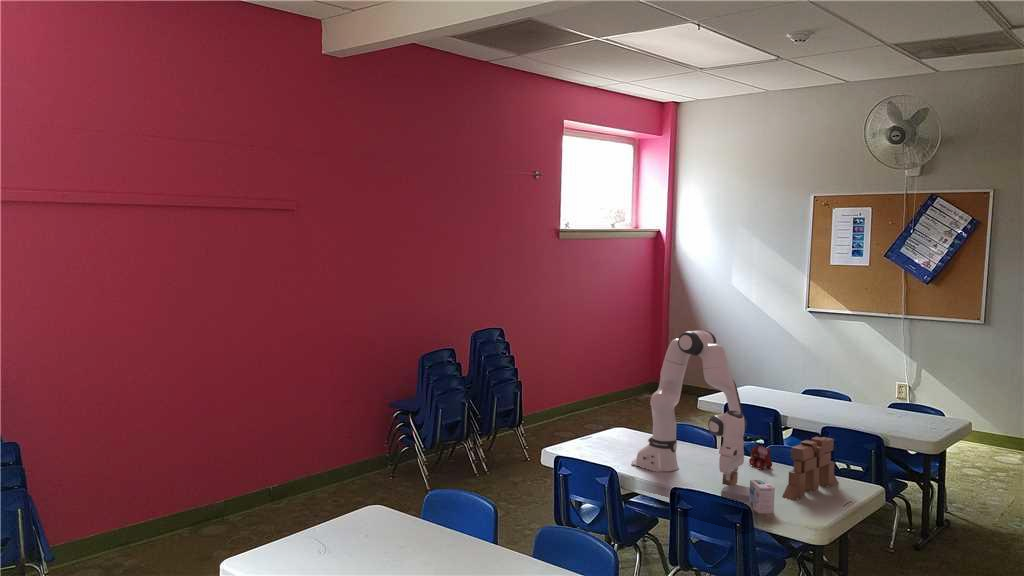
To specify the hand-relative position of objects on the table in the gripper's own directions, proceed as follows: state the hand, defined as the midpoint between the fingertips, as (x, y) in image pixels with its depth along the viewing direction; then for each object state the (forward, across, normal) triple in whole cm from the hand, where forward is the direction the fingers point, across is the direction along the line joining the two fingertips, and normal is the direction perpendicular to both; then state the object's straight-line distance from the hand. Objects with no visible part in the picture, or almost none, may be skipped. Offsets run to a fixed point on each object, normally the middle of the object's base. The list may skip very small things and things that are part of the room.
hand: (731, 478), depth 351 cm
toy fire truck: (+4, -41, -1) cm, 41 cm away
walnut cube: (+3, 0, 0) cm, 3 cm away
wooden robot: (+4, -20, +29) cm, 36 cm away
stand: (+4, +8, +7) cm, 12 cm away
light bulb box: (+4, +19, +20) cm, 28 cm away
